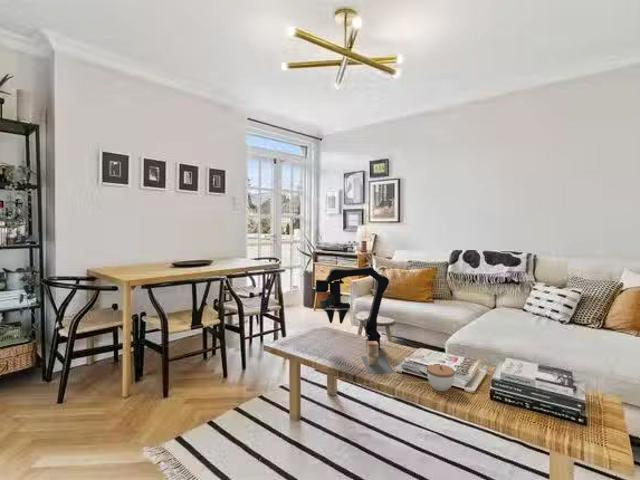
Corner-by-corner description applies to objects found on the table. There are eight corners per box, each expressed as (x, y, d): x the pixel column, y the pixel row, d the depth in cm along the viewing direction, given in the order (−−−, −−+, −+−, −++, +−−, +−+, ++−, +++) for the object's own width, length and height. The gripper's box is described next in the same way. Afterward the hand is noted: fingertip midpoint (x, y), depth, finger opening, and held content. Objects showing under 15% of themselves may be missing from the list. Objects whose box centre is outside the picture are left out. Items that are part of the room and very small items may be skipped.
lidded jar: (435, 379, 158) (435, 358, 157) (459, 388, 150) (459, 365, 150) (421, 387, 151) (422, 365, 150) (445, 396, 143) (446, 373, 142)
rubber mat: (384, 356, 183) (384, 355, 183) (395, 373, 163) (395, 372, 163) (360, 357, 183) (360, 356, 183) (368, 374, 163) (368, 373, 163)
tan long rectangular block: (376, 361, 176) (376, 341, 176) (378, 365, 172) (378, 344, 171) (366, 361, 176) (367, 341, 175) (368, 365, 171) (368, 344, 171)
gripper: (312, 293, 195) (313, 323, 192) (332, 291, 179) (332, 324, 176) (330, 293, 201) (330, 322, 198) (350, 291, 185) (351, 323, 182)
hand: (335, 323), depth 188 cm, fingers open, 9 cm apart
